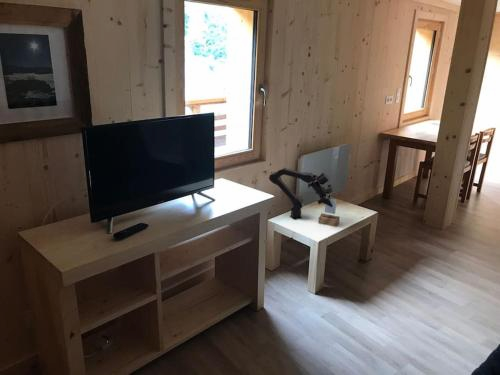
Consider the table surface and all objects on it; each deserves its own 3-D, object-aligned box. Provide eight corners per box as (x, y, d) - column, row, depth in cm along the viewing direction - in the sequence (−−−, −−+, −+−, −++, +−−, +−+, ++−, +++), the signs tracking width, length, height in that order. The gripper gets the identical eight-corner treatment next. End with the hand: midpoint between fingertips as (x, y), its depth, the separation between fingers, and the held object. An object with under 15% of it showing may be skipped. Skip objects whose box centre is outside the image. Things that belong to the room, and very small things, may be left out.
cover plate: (324, 212, 286) (325, 198, 282) (325, 211, 287) (326, 197, 284) (334, 214, 283) (335, 200, 280) (335, 213, 285) (336, 199, 281)
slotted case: (318, 223, 287) (318, 217, 285) (321, 219, 294) (321, 213, 292) (336, 226, 282) (337, 220, 280) (339, 222, 289) (339, 216, 287)
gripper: (323, 186, 271) (338, 204, 271) (330, 178, 287) (344, 195, 287) (311, 195, 276) (326, 213, 276) (318, 186, 293) (332, 203, 293)
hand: (332, 206), depth 283 cm, fingers closed on cover plate, 2 cm apart
